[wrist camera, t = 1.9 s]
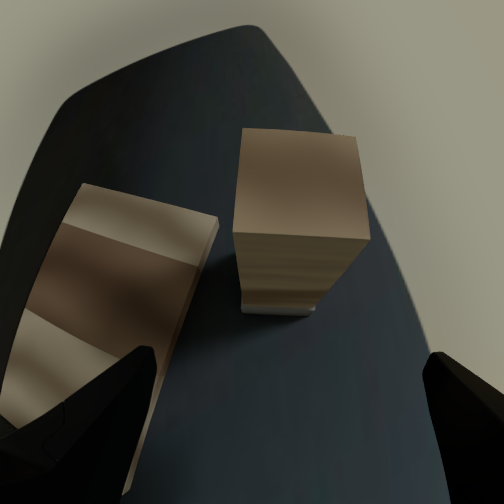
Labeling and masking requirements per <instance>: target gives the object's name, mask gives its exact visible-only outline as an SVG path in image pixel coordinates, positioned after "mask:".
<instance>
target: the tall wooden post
mask: <svg viewBox="0 0 504 504" xmlns="http://www.w3.org/2000/svg"><path fill="white" fill-rule="evenodd" d="M233 238H234V245H235V252H236V259H237V265H238V272H239V279H240V286H241V292H242V299H241V310H242V313H250V314H270V315H295V316H310V315H311V314H312V313H313V312H314V311H315V305H316V304H317V303H318V302H319V301H320V299H321V298H322V297H323V296H324V295H325V294H326V293H327V291H328V290H329V289H330V288H331V287H332V286H333V284H334V283H335V282H336V281H337V280H338V279H339V277H340V276H341V275H342V274H343V273H344V271H345V270H346V269H347V268H348V267H349V265H350V264H351V263H352V262H353V261H354V259H355V258H356V257H357V256H358V254H359V253H360V252H361V251H362V249H363V248H364V247H365V246H366V244H367V243H368V242H369V241H370V230H369V221H368V213H367V205H366V197H365V190H364V184H363V177H362V170H361V164H360V158H359V152H358V147H357V141H356V137H351V136H344V135H335V134H325V133H315V132H304V131H290V130H274V129H252V128H243V131H242V140H241V150H240V160H239V170H238V180H237V190H236V201H235V212H234V223H233Z"/></svg>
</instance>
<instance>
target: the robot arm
mask: <svg viewBox="0 0 504 504" xmlns="http://www.w3.org/2000/svg"><path fill="white" fill-rule="evenodd" d="M156 374H157V362H156V358H155V353H154V349H153V347H151V346H146V345H139V346H138V347H136V348H135V349H134V350H132V351H131V352H130V353H128V354H127V355H125V356H124V357H123V358H121V359H120V360H119V361H117V362H116V363H114V364H113V365H112V366H110V367H109V368H108V369H106V370H105V371H103V372H102V373H101V374H99V375H98V376H97V377H95V378H94V379H92V380H91V381H90V382H88V383H87V384H86V385H84V386H83V387H81V388H80V389H79V390H77V391H76V392H74V393H73V394H72V395H70V396H69V397H68V398H66V399H65V400H64V402H63V401H62V402H60V403H59V404H58V405H56V406H55V407H53V408H52V409H51V410H49V411H48V412H46V413H45V414H43V415H42V416H40V417H38V418H37V419H35V420H33V421H31V422H30V423H28V424H26V425H24V426H23V427H21V428H19V429H17V430H15V431H14V432H12V433H10V434H8V435H6V436H4V437H2V438H0V504H119V503H120V499H121V496H122V493H123V489H124V486H125V483H126V480H127V476H128V473H129V470H130V467H131V464H132V460H133V457H134V454H135V451H136V448H137V445H138V442H139V439H140V436H141V433H142V430H143V427H144V424H145V421H146V418H147V415H148V411H149V407H150V402H151V397H152V393H153V388H154V383H155V379H156ZM422 377H423V382H424V387H425V392H426V397H427V402H428V408H429V412H430V416H431V420H432V424H433V427H434V431H435V435H436V438H437V442H438V446H439V450H440V454H441V458H442V462H443V467H444V471H445V476H446V481H447V485H448V490H449V496H450V501H451V504H504V394H502V393H501V392H499V391H498V390H497V389H495V388H494V387H492V386H491V385H490V384H488V383H487V382H485V381H484V380H482V379H481V378H480V377H478V376H477V375H475V374H474V373H472V372H471V371H470V370H468V369H467V368H465V367H464V366H462V365H461V364H460V363H458V362H457V361H455V360H454V359H452V358H451V357H449V356H448V355H447V354H445V353H444V352H433V353H431V354H430V356H429V358H428V360H427V362H426V365H425V367H424V369H423V373H422Z"/></svg>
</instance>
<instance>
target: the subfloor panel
mask: <svg viewBox="0 0 504 504" xmlns="http://www.w3.org/2000/svg"><path fill="white" fill-rule="evenodd" d="M218 228H219V223H218V218H217V217H215V216H211V215H207V214H203V213H200V212H196V211H192V210H188V209H184V208H181V207H177V206H173V205H169V204H165V203H161V202H157V201H154V200H150V199H146V198H142V197H138V196H134V195H130V194H126V193H122V192H118V191H114V190H110V189H106V188H101V187H97V186H93V185H89V184H85V183H83V184H82V186H81V188H80V189H79V191H78V193H77V195H76V197H75V198H74V200H73V202H72V204H71V206H70V208H69V209H68V211H67V213H66V215H65V217H64V219H63V221H62V223H61V225H60V227H59V229H58V231H57V233H56V235H55V237H54V239H53V241H52V244H51V246H50V248H49V250H48V252H47V255H46V257H45V259H44V261H43V264H42V266H41V268H40V271H39V273H38V275H37V278H36V280H35V283H34V285H33V288H32V291H31V293H30V296H29V298H28V301H27V304H26V307H25V309H24V312H23V315H22V318H21V321H20V324H19V327H18V330H17V333H16V337H15V340H14V343H13V347H12V350H11V354H10V357H9V361H8V365H7V369H6V373H5V377H4V381H3V386H2V390H1V395H0V414H1V415H2V416H3V417H4V418H5V419H7V420H8V421H9V422H10V423H11V424H13V425H14V426H15V427H16V428H17V429H19V428H21V427H23V426H24V425H26V424H28V423H30V422H31V421H33V420H35V419H37V418H38V417H40V416H42V415H43V414H45V413H46V412H48V411H49V410H51V409H52V408H53V407H55V406H56V405H58V404H59V403H60V402H62V401H63V402H64V400H65V399H66V398H68V397H69V396H70V395H72V394H73V393H74V392H76V391H77V390H79V389H80V388H81V387H83V386H84V385H86V384H87V383H88V382H90V381H91V380H92V379H94V378H95V377H97V376H98V375H99V374H101V373H102V372H103V371H105V370H106V369H108V368H109V367H110V366H112V365H113V364H114V363H116V362H117V361H119V360H120V359H121V358H123V357H124V356H125V355H127V354H128V353H130V352H131V351H132V350H134V349H135V348H136V347H138V346H139V345H146V346H151V347H153V349H154V353H155V358H156V362H157V374H156V379H155V383H154V388H153V393H152V397H151V402H150V407H149V411H148V415H147V418H146V421H145V424H144V427H143V430H142V433H141V436H140V439H139V442H138V445H137V448H136V451H135V454H134V457H133V460H132V464H131V467H130V470H129V473H128V476H127V480H126V483H125V486H124V489H123V493H122V495H123V494H125V493H126V492H127V491H128V490H130V486H131V483H132V480H133V476H134V473H135V469H136V466H137V462H138V459H139V456H140V452H141V449H142V446H143V443H144V439H145V436H146V433H147V430H148V427H149V423H150V420H151V417H152V414H153V411H154V408H155V405H156V402H157V398H158V395H159V392H160V389H161V386H162V383H163V380H164V377H165V374H166V371H167V368H168V365H169V362H170V359H171V357H172V354H173V351H174V348H175V345H176V342H177V339H178V336H179V334H180V331H181V328H182V325H183V322H184V319H185V317H186V314H187V311H188V308H189V305H190V303H191V300H192V297H193V294H194V292H195V289H196V286H197V284H198V281H199V278H200V276H201V273H202V270H203V267H204V265H205V262H206V260H207V257H208V254H209V252H210V249H211V246H212V244H213V241H214V239H215V236H216V233H217V231H218Z"/></svg>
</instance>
